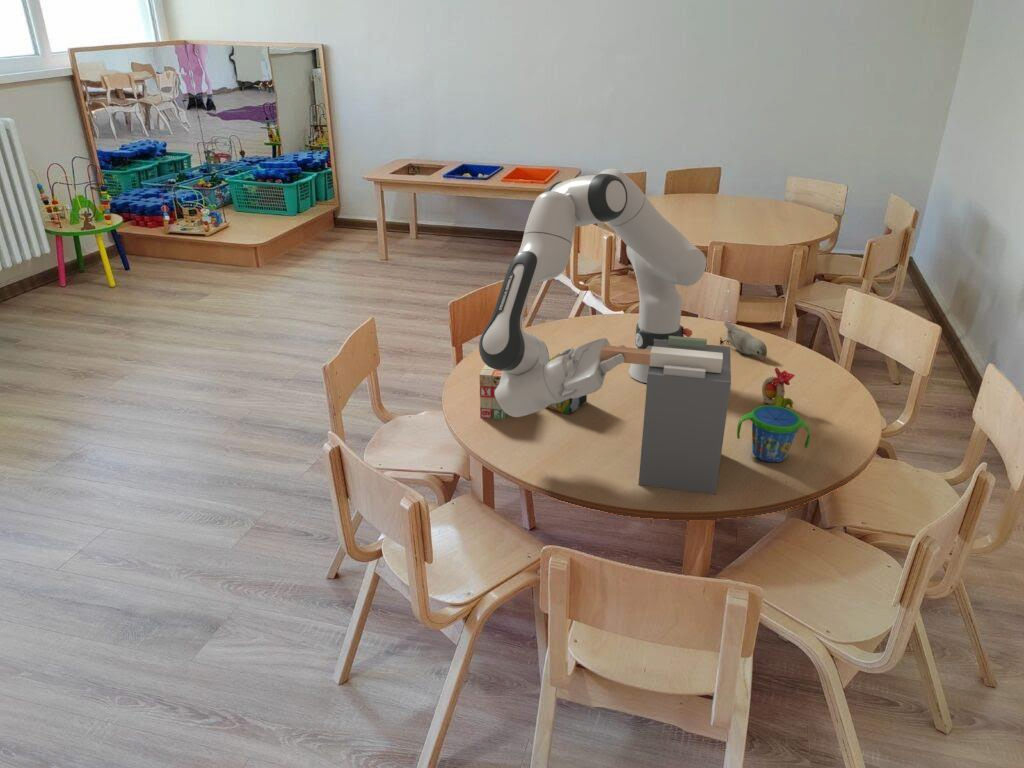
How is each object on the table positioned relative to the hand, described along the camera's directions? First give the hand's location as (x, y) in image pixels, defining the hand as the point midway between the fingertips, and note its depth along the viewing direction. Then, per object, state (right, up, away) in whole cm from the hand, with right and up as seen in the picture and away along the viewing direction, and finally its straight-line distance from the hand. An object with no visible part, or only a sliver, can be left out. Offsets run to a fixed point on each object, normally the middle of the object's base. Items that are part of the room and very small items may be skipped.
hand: (624, 352), depth 157 cm
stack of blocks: (-26, -11, +43) cm, 51 cm away
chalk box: (-10, -12, +41) cm, 43 cm away
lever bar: (+7, -2, -1) cm, 7 cm away
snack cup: (+35, -23, +18) cm, 46 cm away
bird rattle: (+43, -12, +39) cm, 60 cm away
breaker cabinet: (+14, -25, +13) cm, 31 cm away
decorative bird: (+45, +3, +70) cm, 83 cm away
